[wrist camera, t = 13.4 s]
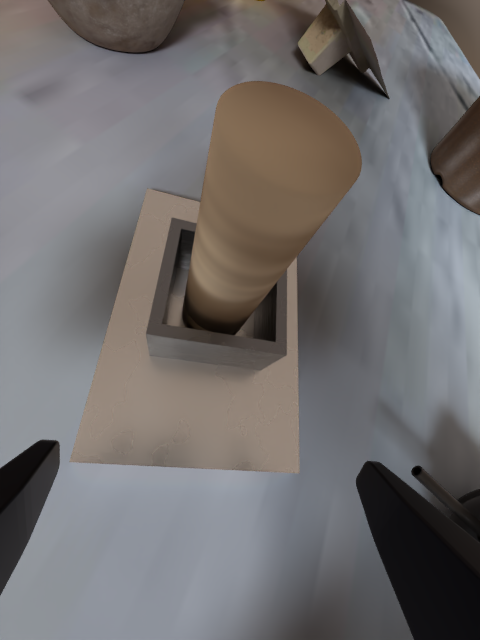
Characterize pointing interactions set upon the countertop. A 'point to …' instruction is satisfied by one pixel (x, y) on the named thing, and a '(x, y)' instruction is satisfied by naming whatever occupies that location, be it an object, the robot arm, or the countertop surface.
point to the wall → (339, 41)
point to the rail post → (262, 197)
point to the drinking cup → (455, 503)
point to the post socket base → (190, 366)
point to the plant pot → (461, 159)
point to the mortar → (120, 21)
